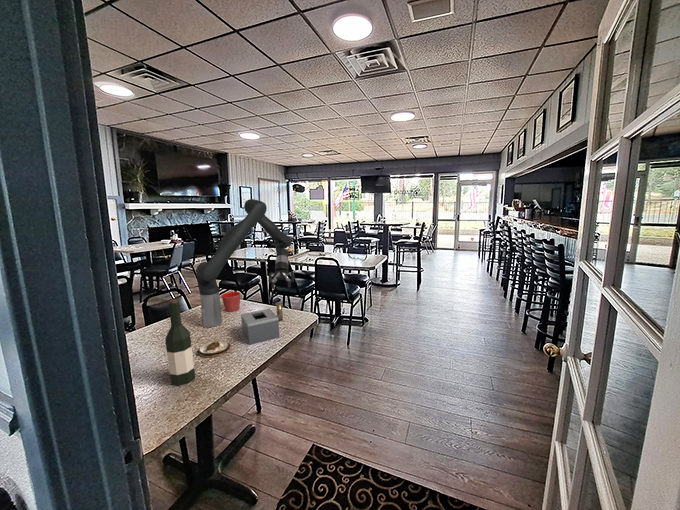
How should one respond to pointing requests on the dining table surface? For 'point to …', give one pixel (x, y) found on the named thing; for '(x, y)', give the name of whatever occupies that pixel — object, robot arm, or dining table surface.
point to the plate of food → (214, 349)
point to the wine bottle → (179, 348)
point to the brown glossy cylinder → (279, 312)
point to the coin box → (260, 326)
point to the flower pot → (231, 301)
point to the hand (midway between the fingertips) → (280, 288)
